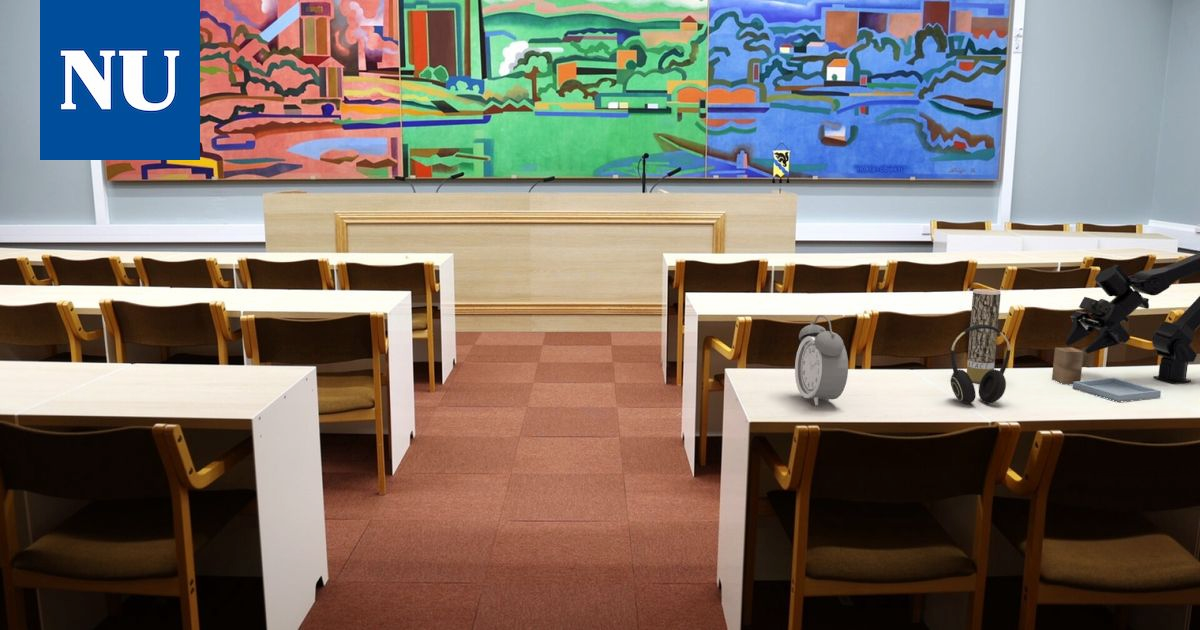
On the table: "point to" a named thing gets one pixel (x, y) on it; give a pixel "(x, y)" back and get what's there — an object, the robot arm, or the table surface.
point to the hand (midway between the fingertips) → (1075, 348)
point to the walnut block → (1067, 365)
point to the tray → (1116, 389)
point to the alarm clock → (820, 363)
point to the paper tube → (983, 333)
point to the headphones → (990, 383)
